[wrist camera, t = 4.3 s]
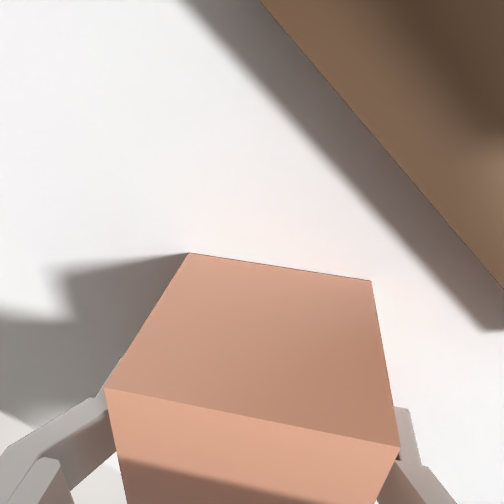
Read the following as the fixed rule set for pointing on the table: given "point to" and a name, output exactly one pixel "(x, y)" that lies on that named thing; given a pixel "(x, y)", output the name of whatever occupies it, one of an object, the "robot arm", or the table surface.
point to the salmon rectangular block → (254, 390)
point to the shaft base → (422, 96)
